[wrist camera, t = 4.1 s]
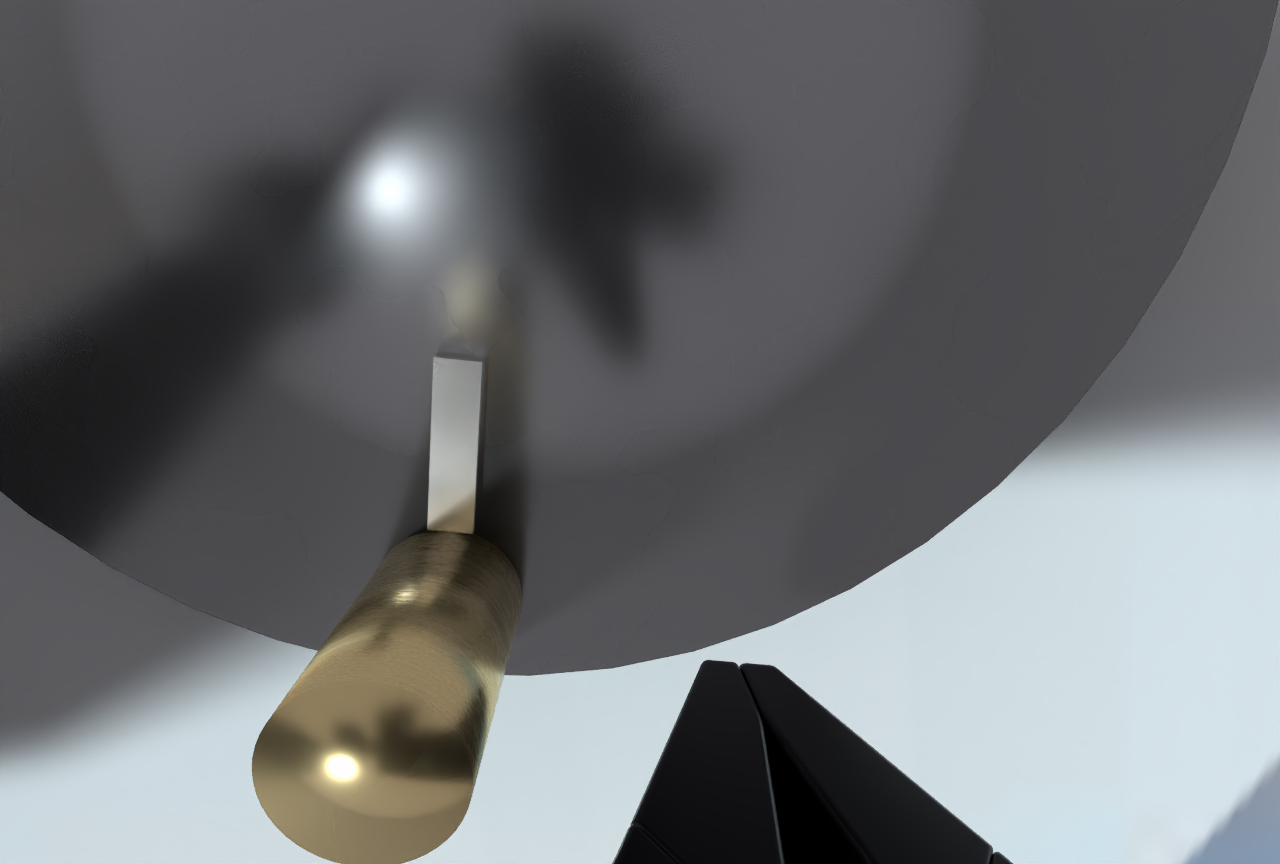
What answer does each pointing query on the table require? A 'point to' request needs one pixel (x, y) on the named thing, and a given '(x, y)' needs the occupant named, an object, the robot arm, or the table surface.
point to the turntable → (561, 319)
